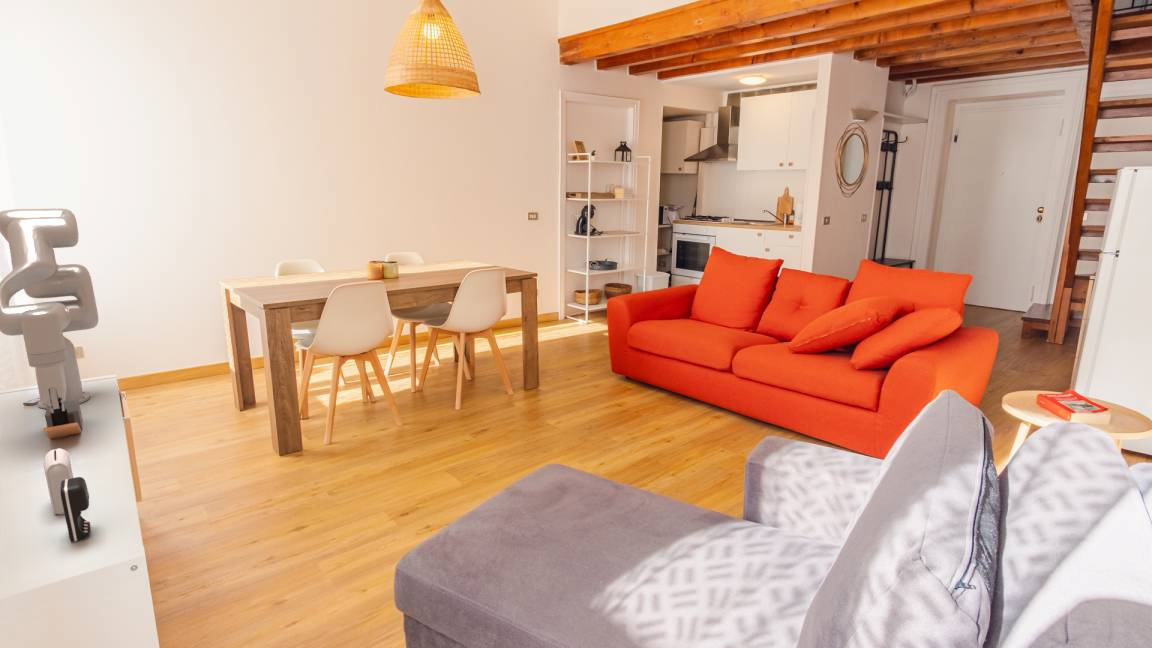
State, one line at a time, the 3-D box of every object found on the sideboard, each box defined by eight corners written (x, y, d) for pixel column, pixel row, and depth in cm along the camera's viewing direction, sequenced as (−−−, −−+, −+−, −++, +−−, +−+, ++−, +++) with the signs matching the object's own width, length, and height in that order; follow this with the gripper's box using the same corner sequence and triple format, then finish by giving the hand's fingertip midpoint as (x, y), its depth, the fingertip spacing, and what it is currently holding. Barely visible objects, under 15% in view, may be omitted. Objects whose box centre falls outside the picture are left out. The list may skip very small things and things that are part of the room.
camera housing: (50, 428, 174) (45, 403, 172) (83, 422, 178) (78, 398, 176) (49, 440, 166) (43, 414, 164) (83, 434, 170) (78, 408, 169)
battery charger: (94, 537, 124) (84, 486, 121) (70, 544, 121) (59, 491, 119) (94, 522, 129) (85, 472, 126) (71, 528, 127) (61, 477, 124)
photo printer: (52, 497, 138) (42, 446, 135) (77, 491, 141) (67, 441, 138) (52, 517, 130) (41, 464, 127) (78, 511, 133) (68, 458, 130)
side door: (50, 436, 166) (44, 428, 157) (81, 431, 170) (77, 422, 161) (50, 441, 166) (44, 432, 157) (82, 435, 170) (77, 426, 160)
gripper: (30, 353, 160) (44, 419, 164) (26, 367, 148) (40, 438, 152) (67, 348, 164) (80, 413, 168) (66, 361, 153) (79, 431, 157)
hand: (61, 425), depth 160 cm, fingers closed
